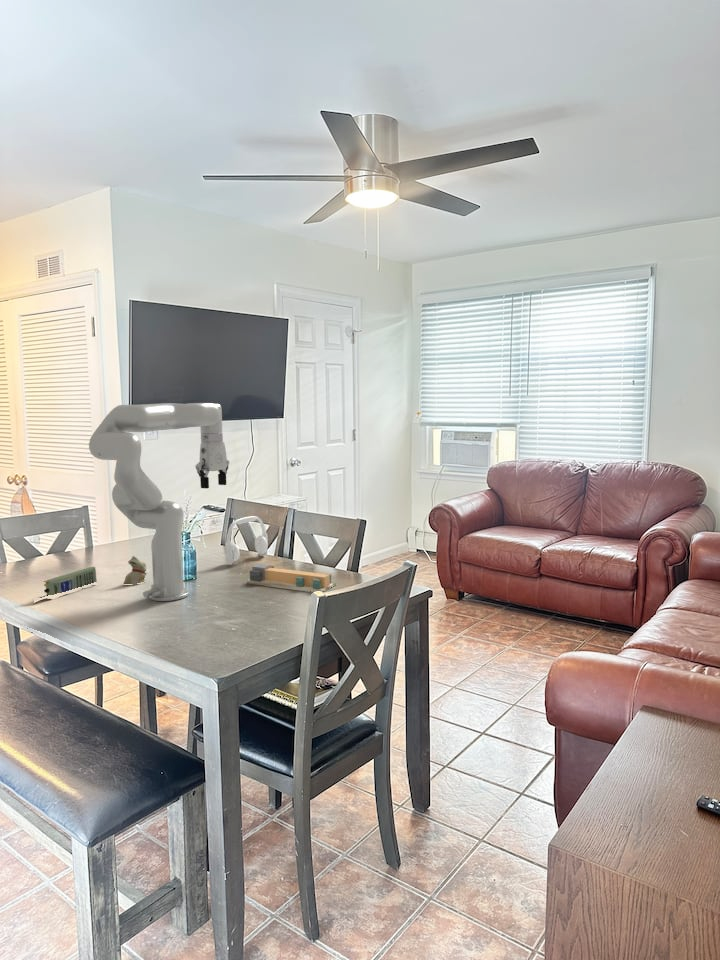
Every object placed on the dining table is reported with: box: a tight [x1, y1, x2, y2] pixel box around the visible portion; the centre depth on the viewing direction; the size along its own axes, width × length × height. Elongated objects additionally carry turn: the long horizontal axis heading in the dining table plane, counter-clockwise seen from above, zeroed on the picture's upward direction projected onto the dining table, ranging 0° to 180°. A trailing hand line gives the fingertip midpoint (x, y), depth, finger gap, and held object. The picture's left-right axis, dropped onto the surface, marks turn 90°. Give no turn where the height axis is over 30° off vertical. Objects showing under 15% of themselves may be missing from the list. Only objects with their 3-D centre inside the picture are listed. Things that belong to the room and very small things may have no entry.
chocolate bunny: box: [123, 555, 147, 584], centre depth 233 cm, size 6×8×10 cm
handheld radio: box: [39, 566, 98, 598], centre depth 221 cm, size 7×3×25 cm
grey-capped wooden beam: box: [251, 563, 330, 588], centre depth 228 cm, size 4×29×4 cm, turn 64°
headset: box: [224, 515, 269, 566], centre depth 263 cm, size 20×7×18 cm, turn 141°
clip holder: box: [246, 565, 337, 593], centre depth 229 cm, size 10×30×4 cm, turn 64°
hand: (213, 486), depth 235 cm, fingers open, 9 cm apart
